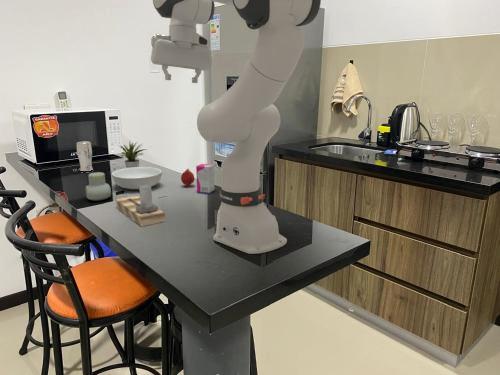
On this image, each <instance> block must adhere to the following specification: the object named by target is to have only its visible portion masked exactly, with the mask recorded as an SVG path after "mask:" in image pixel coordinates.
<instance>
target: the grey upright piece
mask: <svg viewBox="0 0 500 375" xmlns="http://www.w3.org/2000/svg"><path fill="white" fill-rule="evenodd" d="M139 197H140V202H141V206H139V207H136V210H137V211H138V212H139V213H144V212H149V211H154V210H158V209H159V207H158V206H157V205H156V204H154V203H153V193H152V186H147V185H143V186H139Z"/></svg>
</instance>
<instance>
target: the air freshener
mask: <svg viewBox="0 0 500 375" xmlns="http://www.w3.org/2000/svg"><path fill="white" fill-rule="evenodd" d="M87 177H88V184H87V185H85V194H86V199H88V200H89V201H93V202H94V201H102V200H103V201H104V200H107V199H108V198H110V197H111V195H112V191H111V190H112V189H111V186H110V184H109V183H107V182H106V173H104V172H98V171H97V172H90V173H89V174H88V176H87Z"/></svg>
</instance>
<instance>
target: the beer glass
mask: <svg viewBox="0 0 500 375" xmlns="http://www.w3.org/2000/svg"><path fill="white" fill-rule="evenodd" d="M76 153H77V157H78V160H79V164H80V169H79V170H80V171H91V170H93V171H94V169H93V166H92V164H93V163H92V159H93V150H92V143H91V141H87V140H86V141H85V140H84V141H83V140H82V141H77V142H76Z"/></svg>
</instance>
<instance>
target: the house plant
mask: <svg viewBox="0 0 500 375" xmlns="http://www.w3.org/2000/svg"><path fill="white" fill-rule="evenodd" d="M128 142H129V143H128V146H129V148H128V146H127V145H126V143H123V145H119V147H120V148H121V149H122V150H123V152H120V154H121V155H120V157H125V158H127V159H125V160H124V165H125V168H131V167H140V159H137V158H138V157H139V156H145V153H144V152H143V151H146V150H148V149H146V148H145V149H140V148H142V146H143V143H141V144H139V145H138V146H137V147H136V145H137V144H138V141H137V142H135V143H133V142H132V143H131V141H128ZM135 147H136V148H135ZM134 149H135V150H134ZM138 149H139V150H138Z"/></svg>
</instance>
